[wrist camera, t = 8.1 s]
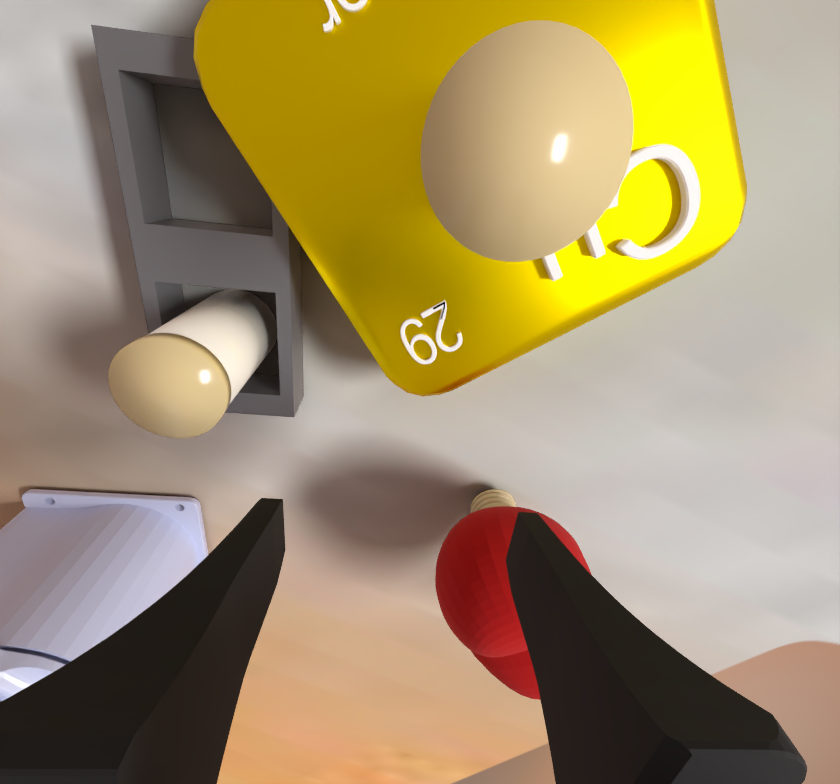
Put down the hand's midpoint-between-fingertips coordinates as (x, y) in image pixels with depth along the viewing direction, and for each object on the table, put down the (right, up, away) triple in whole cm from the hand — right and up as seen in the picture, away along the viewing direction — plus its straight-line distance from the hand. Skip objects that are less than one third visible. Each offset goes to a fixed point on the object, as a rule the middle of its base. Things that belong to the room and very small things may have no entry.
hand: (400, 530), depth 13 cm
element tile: (+3, +14, +5) cm, 16 cm away
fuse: (-8, +7, +7) cm, 13 cm away
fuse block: (-8, +10, +6) cm, 14 cm away
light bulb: (+5, -2, +13) cm, 14 cm away
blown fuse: (+3, +12, 0) cm, 12 cm away
